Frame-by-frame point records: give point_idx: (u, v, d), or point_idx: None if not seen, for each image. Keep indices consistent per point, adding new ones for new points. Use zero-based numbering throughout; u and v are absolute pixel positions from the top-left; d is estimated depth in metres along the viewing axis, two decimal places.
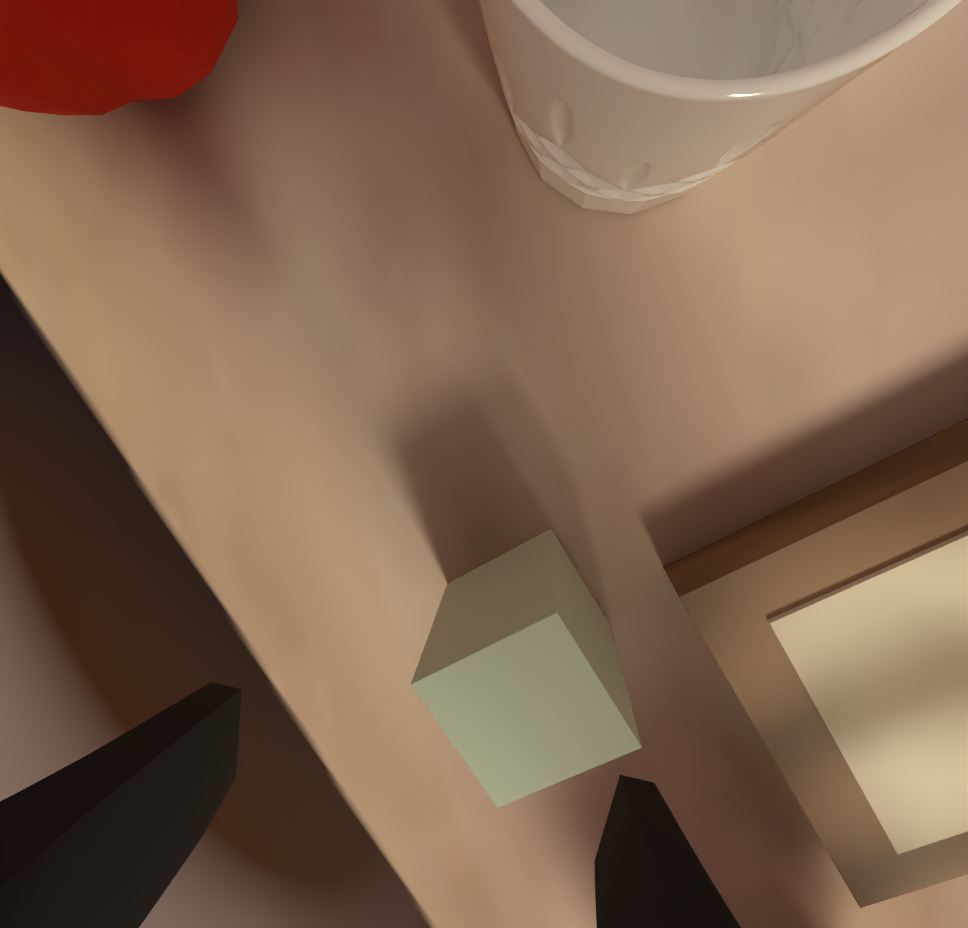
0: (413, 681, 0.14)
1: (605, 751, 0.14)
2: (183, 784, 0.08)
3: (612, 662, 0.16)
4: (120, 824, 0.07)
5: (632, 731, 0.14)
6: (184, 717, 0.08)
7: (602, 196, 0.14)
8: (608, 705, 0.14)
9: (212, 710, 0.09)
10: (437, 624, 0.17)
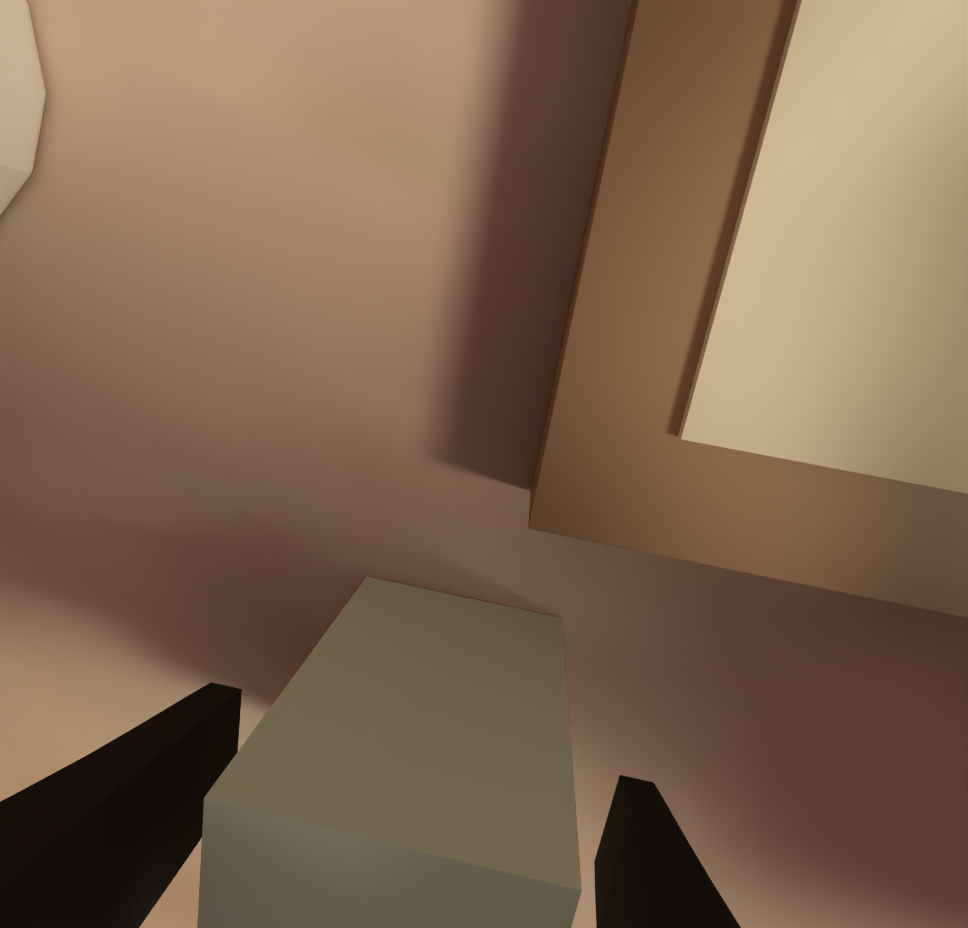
0: None
1: None
2: (183, 784, 0.08)
3: (518, 712, 0.09)
4: (120, 824, 0.07)
5: (538, 873, 0.06)
6: (184, 717, 0.08)
7: None
8: (446, 868, 0.06)
9: (212, 710, 0.09)
10: None
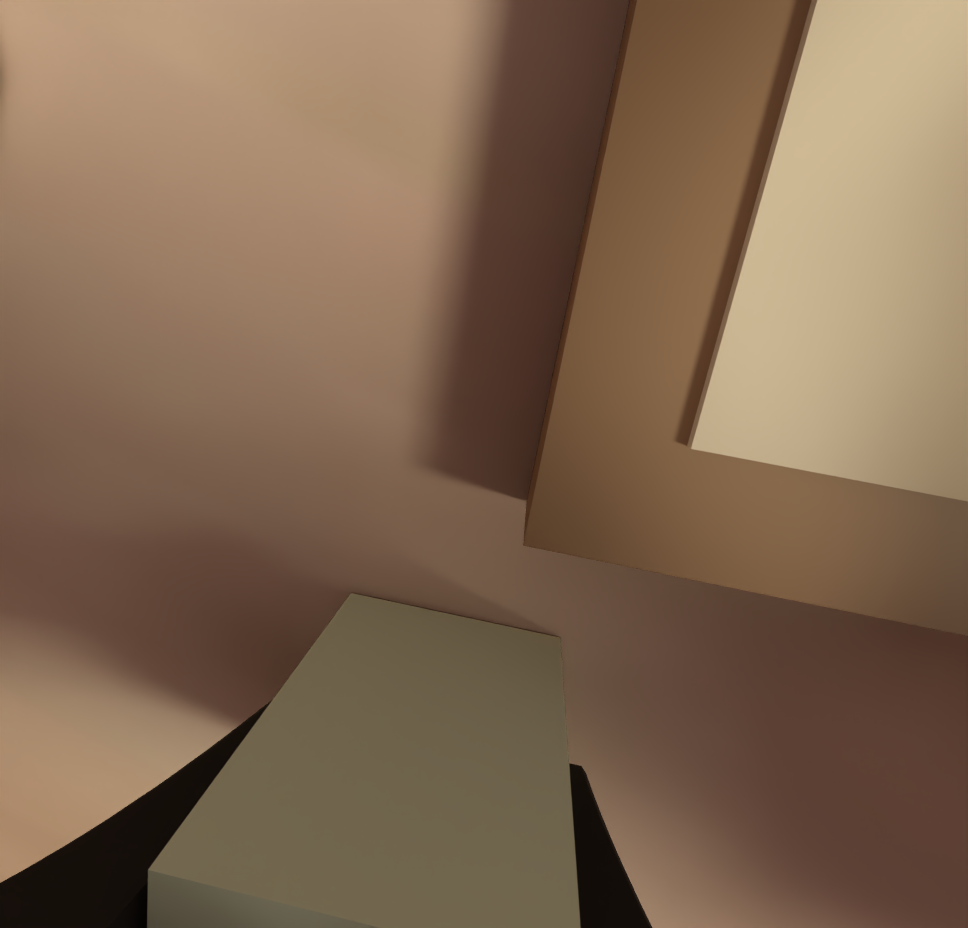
0: None
1: None
2: None
3: (512, 751, 0.08)
4: None
5: None
6: None
7: None
8: None
9: None
10: None
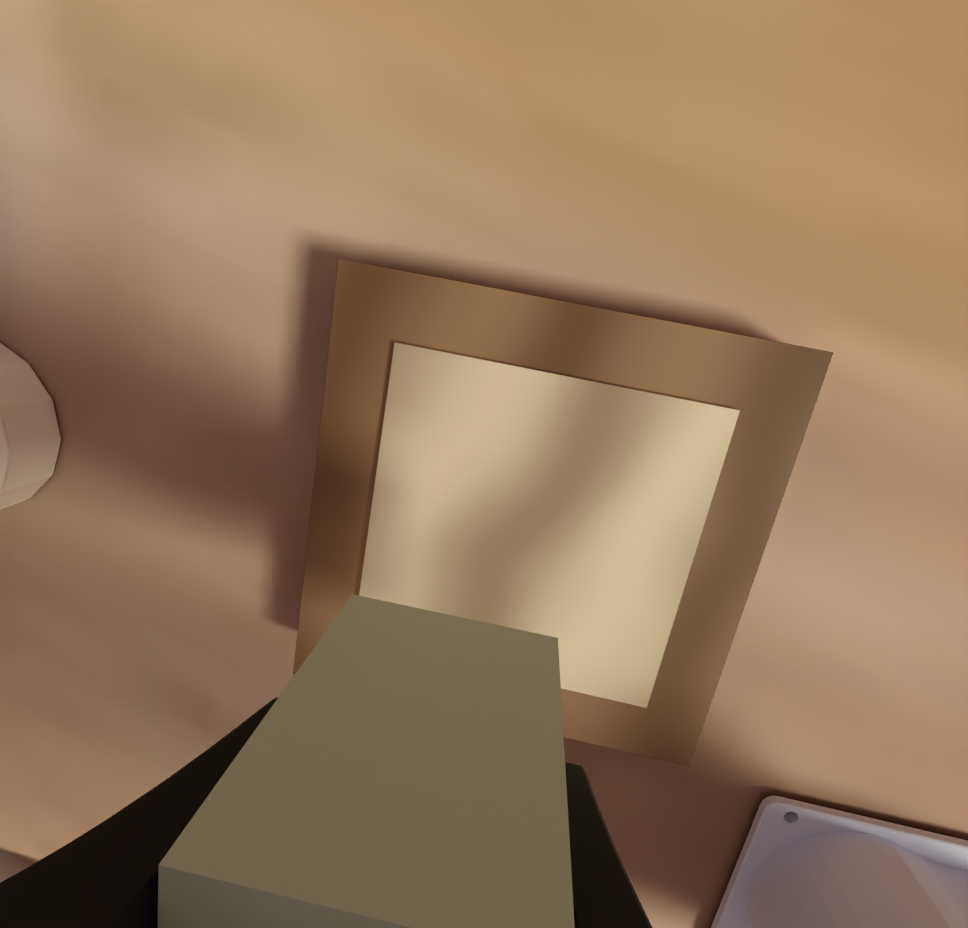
0: None
1: None
2: None
3: (509, 750, 0.08)
4: None
5: None
6: None
7: None
8: None
9: None
10: None
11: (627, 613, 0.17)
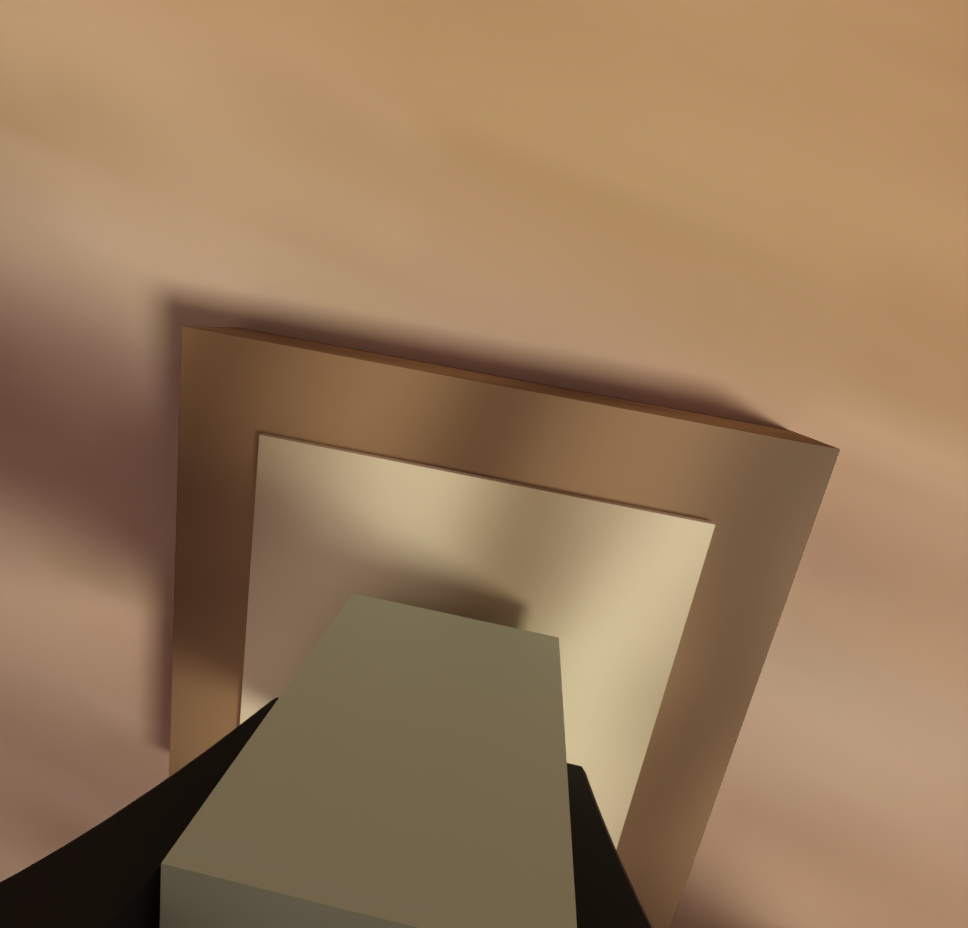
0: None
1: None
2: None
3: (511, 749, 0.08)
4: None
5: None
6: None
7: None
8: None
9: None
10: None
11: None
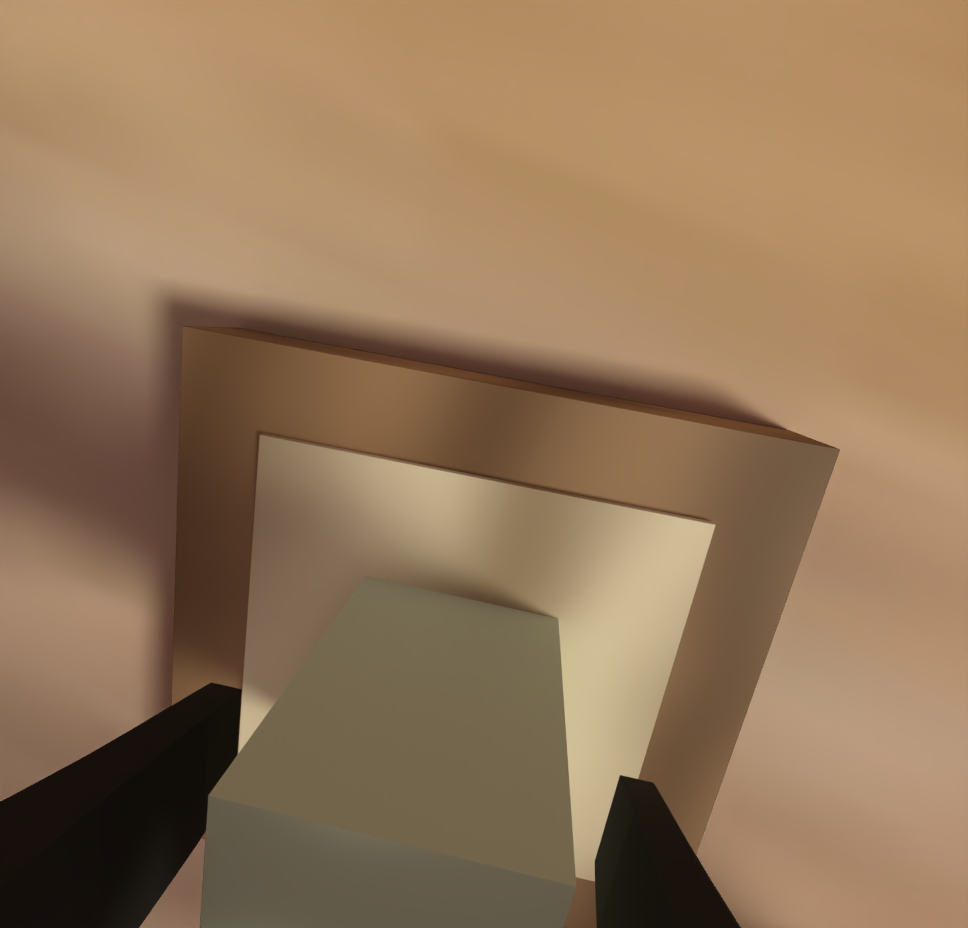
0: None
1: None
2: (183, 784, 0.08)
3: (514, 712, 0.09)
4: (120, 824, 0.07)
5: (534, 870, 0.06)
6: (184, 717, 0.08)
7: None
8: (445, 865, 0.06)
9: (212, 710, 0.09)
10: None
11: (577, 772, 0.13)
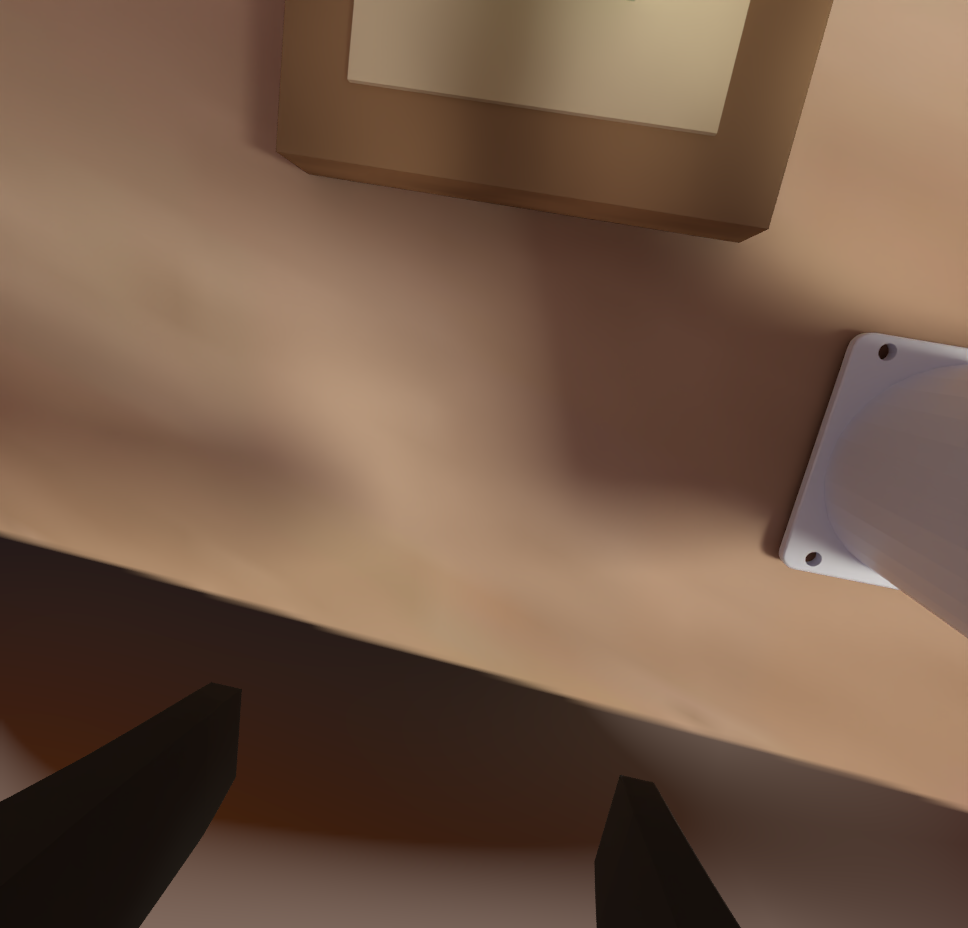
0: None
1: None
2: (183, 784, 0.08)
3: None
4: (120, 824, 0.07)
5: None
6: (184, 717, 0.08)
7: None
8: None
9: (212, 710, 0.09)
10: None
11: None
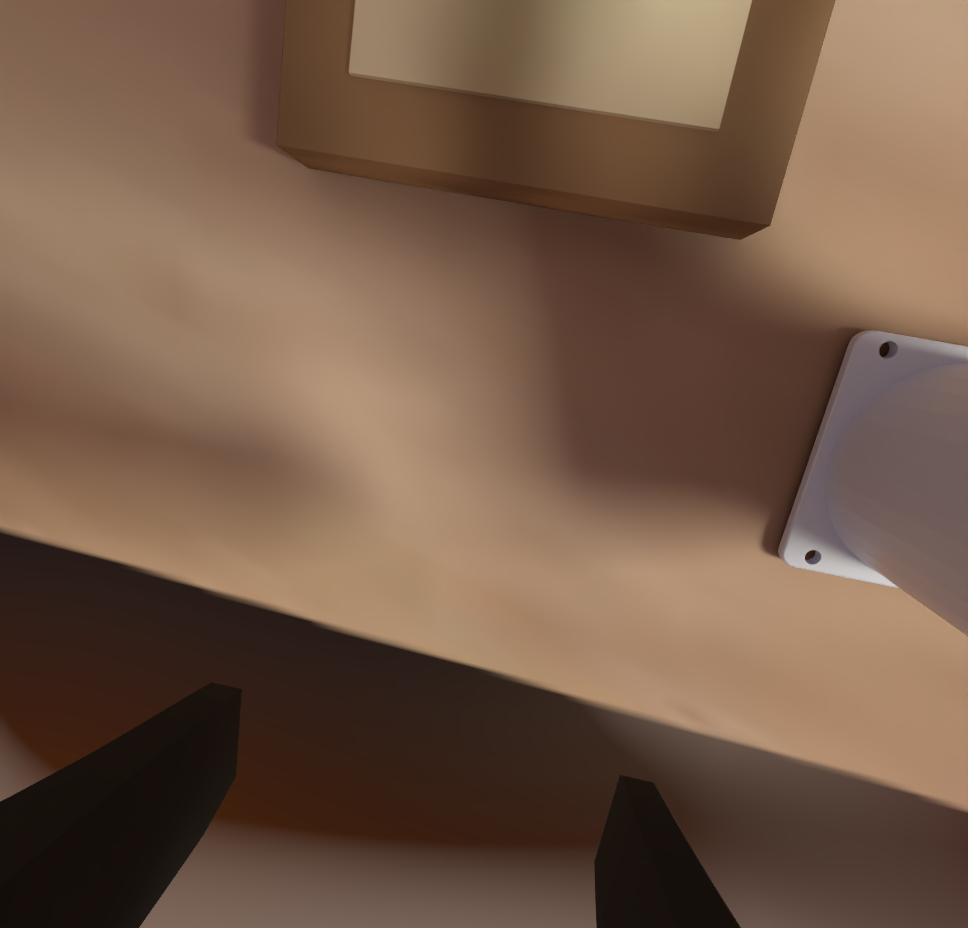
0: None
1: None
2: (183, 784, 0.08)
3: None
4: (120, 824, 0.07)
5: None
6: (184, 717, 0.08)
7: None
8: None
9: (212, 710, 0.09)
10: None
11: None
